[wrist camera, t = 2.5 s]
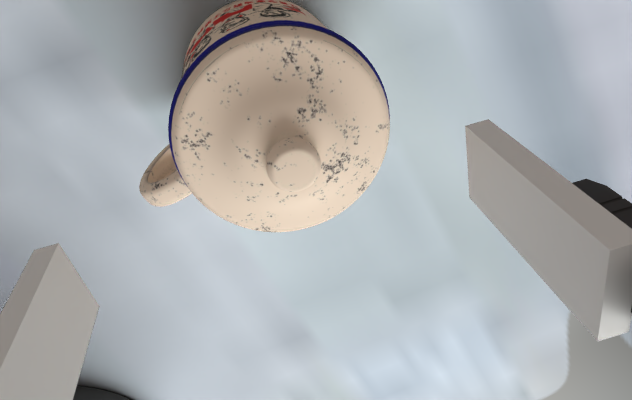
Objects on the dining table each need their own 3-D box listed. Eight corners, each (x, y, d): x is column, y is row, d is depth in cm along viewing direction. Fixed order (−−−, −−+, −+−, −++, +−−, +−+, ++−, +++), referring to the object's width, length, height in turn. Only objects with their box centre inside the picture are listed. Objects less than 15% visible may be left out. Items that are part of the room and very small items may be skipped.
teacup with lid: (290, -47, 24) (346, -21, 14) (368, 100, 29) (452, 195, 19) (97, 82, 26) (29, 187, 16) (202, 203, 30) (201, 341, 20)
